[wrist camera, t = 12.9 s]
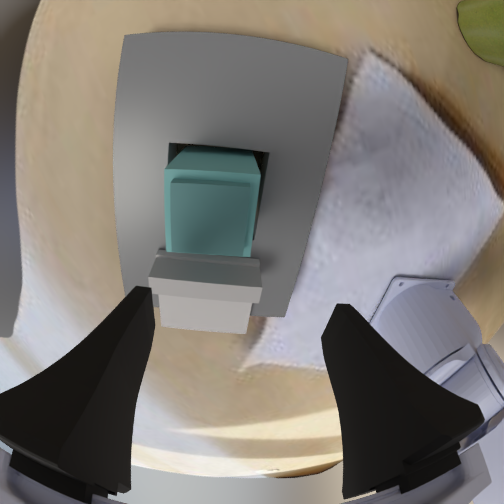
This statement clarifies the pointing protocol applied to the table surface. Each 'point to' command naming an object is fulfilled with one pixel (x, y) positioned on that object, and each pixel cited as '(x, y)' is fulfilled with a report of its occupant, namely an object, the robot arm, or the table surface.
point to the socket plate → (224, 140)
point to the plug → (211, 201)
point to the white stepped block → (205, 290)
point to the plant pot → (483, 28)
